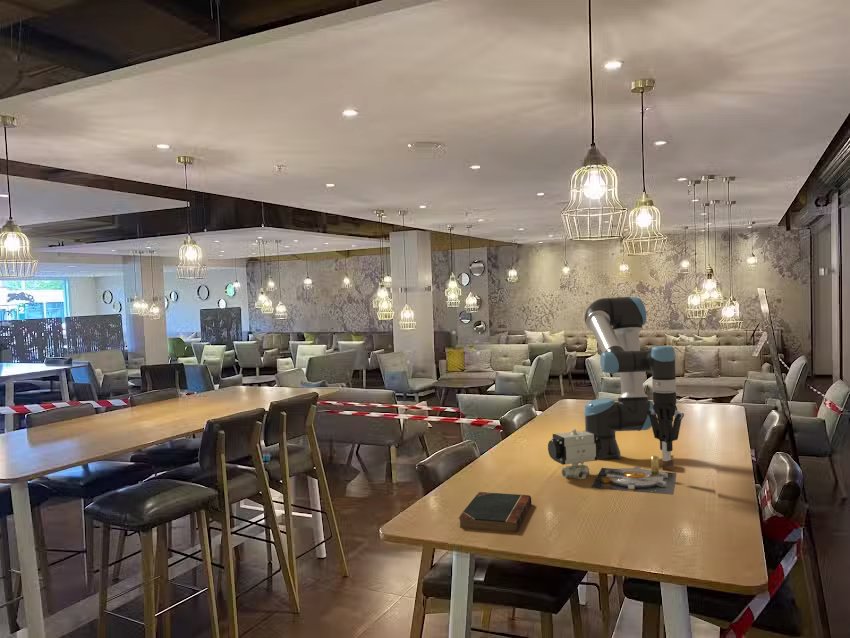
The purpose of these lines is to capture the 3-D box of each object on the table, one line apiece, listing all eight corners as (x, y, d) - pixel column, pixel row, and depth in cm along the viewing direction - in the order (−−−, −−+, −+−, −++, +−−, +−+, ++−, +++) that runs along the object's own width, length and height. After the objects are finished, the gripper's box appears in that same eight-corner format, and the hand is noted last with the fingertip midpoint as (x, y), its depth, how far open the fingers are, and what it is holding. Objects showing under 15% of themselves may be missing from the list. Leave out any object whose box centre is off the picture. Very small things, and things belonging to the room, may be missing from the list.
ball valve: (559, 484, 224) (557, 434, 223) (548, 478, 232) (546, 429, 231) (605, 478, 228) (603, 429, 228) (592, 472, 237) (591, 425, 236)
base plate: (590, 490, 215) (590, 487, 215) (601, 470, 239) (601, 467, 239) (673, 497, 205) (673, 494, 205) (676, 475, 229) (676, 472, 229)
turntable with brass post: (598, 486, 216) (597, 464, 215) (608, 468, 237) (607, 448, 237) (665, 492, 207) (664, 469, 207) (668, 472, 229) (668, 452, 228)
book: (479, 502, 210) (458, 529, 187) (478, 491, 210) (457, 517, 186) (531, 505, 204) (517, 534, 181) (531, 494, 204) (516, 521, 181)
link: (662, 473, 233) (662, 458, 233) (663, 468, 240) (663, 454, 239) (673, 473, 232) (672, 459, 232) (673, 468, 238) (673, 454, 238)
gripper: (641, 391, 221) (643, 459, 222) (675, 394, 211) (677, 465, 211) (654, 388, 226) (656, 455, 226) (688, 391, 215) (690, 461, 216)
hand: (666, 460), depth 219 cm, fingers closed
